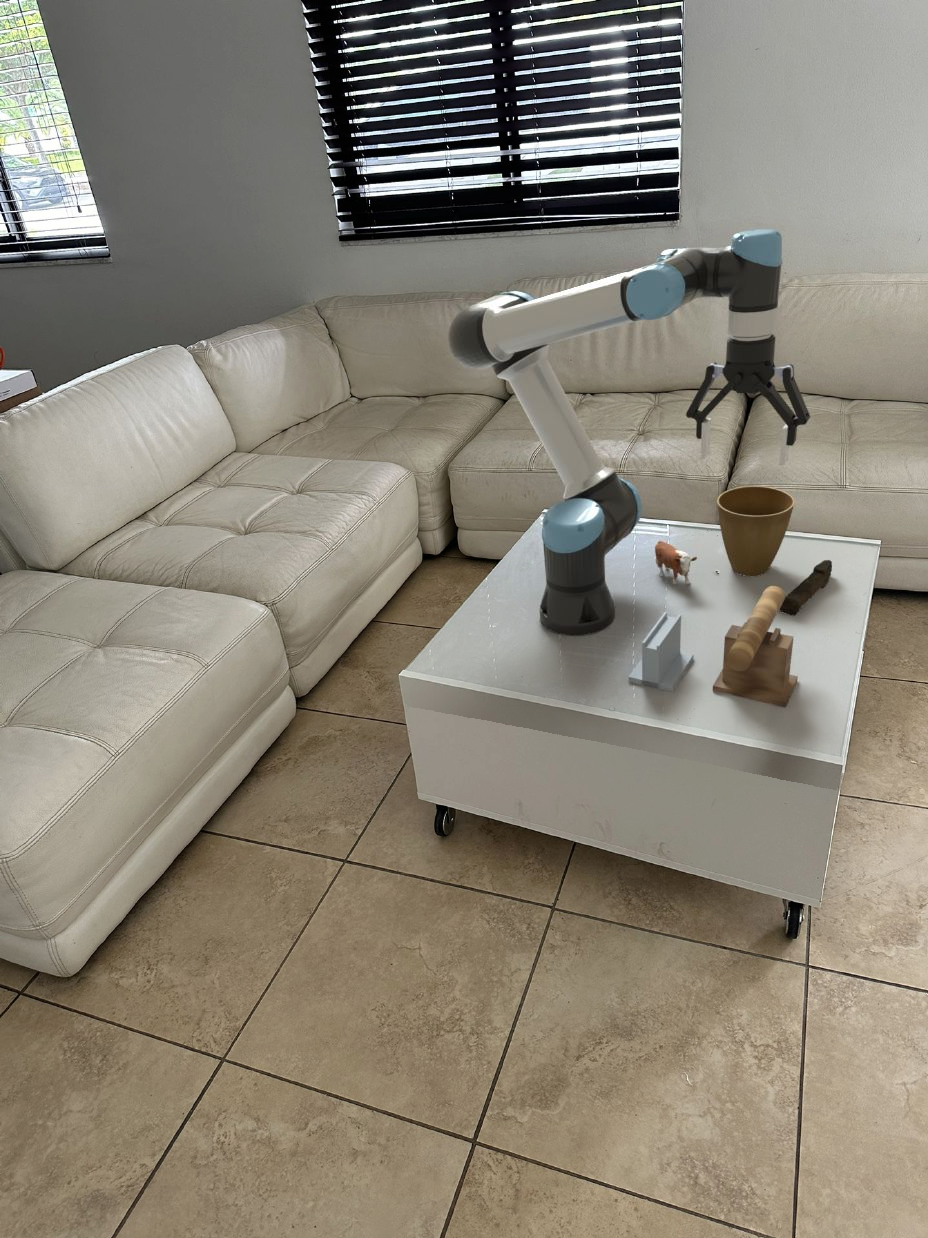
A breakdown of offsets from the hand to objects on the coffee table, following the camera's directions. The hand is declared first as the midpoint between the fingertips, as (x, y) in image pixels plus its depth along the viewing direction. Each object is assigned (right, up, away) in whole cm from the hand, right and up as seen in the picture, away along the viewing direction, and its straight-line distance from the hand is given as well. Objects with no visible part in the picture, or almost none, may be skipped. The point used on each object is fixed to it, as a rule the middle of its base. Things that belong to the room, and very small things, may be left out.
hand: (743, 459), depth 143 cm
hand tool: (+19, -24, +19) cm, 36 cm away
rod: (-1, -31, -9) cm, 32 cm away
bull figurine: (-4, -20, +30) cm, 36 cm away
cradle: (-14, -37, +3) cm, 40 cm away
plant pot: (+12, -18, +30) cm, 37 cm away
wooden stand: (0, -40, -4) cm, 40 cm away
